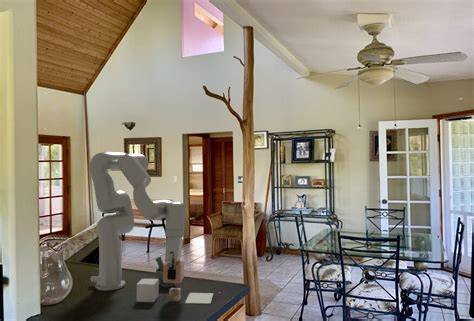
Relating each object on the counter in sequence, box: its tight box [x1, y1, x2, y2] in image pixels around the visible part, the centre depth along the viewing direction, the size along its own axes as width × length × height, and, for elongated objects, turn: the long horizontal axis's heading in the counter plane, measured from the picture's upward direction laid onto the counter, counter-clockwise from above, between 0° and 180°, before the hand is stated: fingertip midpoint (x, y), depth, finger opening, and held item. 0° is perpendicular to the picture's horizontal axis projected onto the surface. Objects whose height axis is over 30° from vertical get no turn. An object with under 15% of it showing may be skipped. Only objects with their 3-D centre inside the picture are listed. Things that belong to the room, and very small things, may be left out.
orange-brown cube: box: [163, 260, 185, 284], centre depth 149 cm, size 7×7×7 cm
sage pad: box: [184, 292, 214, 305], centre depth 149 cm, size 10×11×1 cm
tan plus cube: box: [168, 287, 182, 302], centre depth 149 cm, size 4×4×4 cm
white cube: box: [136, 278, 160, 303], centre depth 149 cm, size 7×7×7 cm
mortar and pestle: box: [155, 256, 175, 288], centre depth 167 cm, size 11×9×12 cm
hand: (173, 275), depth 149 cm, fingers closed on orange-brown cube, 7 cm apart
